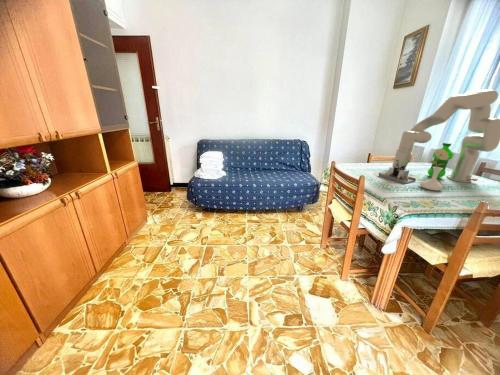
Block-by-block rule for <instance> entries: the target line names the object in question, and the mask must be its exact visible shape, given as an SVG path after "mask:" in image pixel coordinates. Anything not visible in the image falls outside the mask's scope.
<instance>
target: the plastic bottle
mask: <svg viewBox="0 0 500 375" xmlns="http://www.w3.org/2000/svg"><path fill="white" fill-rule="evenodd" d="M451 145H452V143H451V142H443V143H442V147H441V148H440V149H442V150H443V149H444V150H445V151H447V153H448V155H449V157H448V158H447V160H446V159H445V160H442V159H440V158H438V157H437V156H436V155H435V151H433V153H432V158H433V160H434V161H435V162H436V163H437V167H440V168H443V169H442V170H441V171H440V172H439V174H438V176H437V179H440V178H442V177H444V176H445V175H446V173H447V172H446V168H447V165H448V163H449V161H450V160H451V159H452V158H453V157H454V152H453V151H452V149H450V147H452V146H451ZM437 158H438V159H437ZM436 160H437V161H436ZM439 164H442V165H439ZM433 167H436V164H433V163H432V164H431V166H430V168H429V169H427V175H429V177H430V178H432V176H433V172H434V170H433Z"/></svg>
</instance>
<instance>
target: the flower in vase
mask: <svg viewBox="0 0 500 375" xmlns="http://www.w3.org/2000/svg"><path fill="white" fill-rule="evenodd" d="M434 152H435V155H436V156H437V157H438V158H440V159H442V160H445V159H446V160H447V158H448V157H449V155H448V153H447V151H445V150H444V149H443V150H442V149H441V148H436V149H435V150H434ZM438 158H437V159H438ZM436 161H437V160H436ZM430 163H433V164H436V167H433V170H434V172H433V176H432V177H430V178H429V179H427V180H423V181H422V182H420V183H419V186H420V187H421V188H423V189H426V190H430V191H442V190H443V189H444V187H443V185H442V184H441V183H440V182H439V181H438V178H437V176H438V174H439V172H440V171H441V170H442V169H443V168H440V167H437V163H436V162H435V161H434V159H433V160H430ZM439 165H442V164H439Z"/></svg>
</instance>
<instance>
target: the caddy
mask: <svg viewBox="0 0 500 375" xmlns="http://www.w3.org/2000/svg"><path fill="white" fill-rule="evenodd" d="M388 172H389V170H387V171H386V173H378V177H379V178H383V179H386V180H390V181H393V182H396V183H398V184H403V185H407V184H410V183H411V184H412V183H415V182H416V179H417V178H416V177H413V176H409V175H408V176H407V178H403V179H401V178H400V176H399V175H398V177H394V176H391V175H389V174H390V173H388Z"/></svg>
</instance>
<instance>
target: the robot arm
mask: <svg viewBox="0 0 500 375" xmlns="http://www.w3.org/2000/svg"><path fill="white" fill-rule="evenodd" d="M498 97H499V93H498V91H497V90H494V89H480V90H479V89H476V90H470V91H466V92H465V93H464V94H463V93H462V94H454V95H452V96H449V97H448V98H447V99H446V100H445V101H444V102H443V103H442V104H441V105H440V106H439V107H438V108H437V109H436V111H435V112H434V113H432V114H431V115H429V116H428V117H425V118H423V119H422V120H421V121H419V122H418V123H416V124H415V125H414V126H412V128H411V129H410V130H404V131H403V132H402V135H401V138H400V142H399V146H398V148H399V149H398V148H397V149H398V152H397V154H396V153H395V155H396V156H395V155H394V158H395V159H393V163H392V166H393V168H394V169H393V174H392V175H394V176H397V175H398V172H399V171H398V170H399V168H404V169H406V168H407V166H408V164H409V161H410V157H411V153H412V150H413V148H414V144H415V143H417V144H426V143H428V142H430V140H432V134H431V133H430V132H428V131H426V130H427V129H429V128H431V127H434V126H437V125H441V124H444V123H446V122H447V121H448V120H449V119H450V118H451V117H452V116H454V114H455V113H456V112H458V111H459V110H464V111H465V110H470V114H469V120H468V126H467V129H468V131H469V132H471V133H472V134H468V135H466V136H465V137H464V138H463V139H462V141H461V147H460V151H459V154H458V156H457V158H456V161H455V164H454V166H453V168H452V171H451V174H448V175H447V176H446V178H447V179H449V180H451V181H455V182H460V183H471V182H473V181H474V182H477V181H478V178H477V177H473V175H472V172H473V170H474V169H475V166H476V163H477V161H478V159H479V156H480V152H487V153H488V152H492V151H494V150H495V149H497V147H498V146H499V144H500V118H495V117H491V111H492V107H491V105H492V104H493V103H495V102H496V101H497V99H498ZM473 133H474V134H473ZM479 151H480V152H479ZM397 165H399V166H397ZM397 167H398V168H397ZM405 167H406V168H405Z"/></svg>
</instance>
